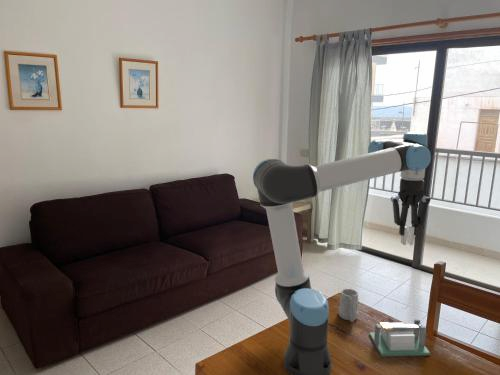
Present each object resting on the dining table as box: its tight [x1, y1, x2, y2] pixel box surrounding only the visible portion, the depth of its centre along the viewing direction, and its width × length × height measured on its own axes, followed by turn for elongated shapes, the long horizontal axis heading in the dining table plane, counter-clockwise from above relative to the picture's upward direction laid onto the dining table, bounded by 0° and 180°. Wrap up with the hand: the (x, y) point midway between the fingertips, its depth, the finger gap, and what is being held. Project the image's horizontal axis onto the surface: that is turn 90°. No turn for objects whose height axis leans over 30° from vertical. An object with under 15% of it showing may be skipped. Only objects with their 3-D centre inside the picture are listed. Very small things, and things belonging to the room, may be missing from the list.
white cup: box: [338, 288, 360, 323], centre depth 147 cm, size 8×12×12 cm, turn 179°
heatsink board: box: [368, 318, 431, 357], centre depth 131 cm, size 16×12×8 cm
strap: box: [379, 321, 423, 331], centre depth 131 cm, size 14×3×2 cm, turn 92°
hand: (406, 243), depth 136 cm, fingers closed
